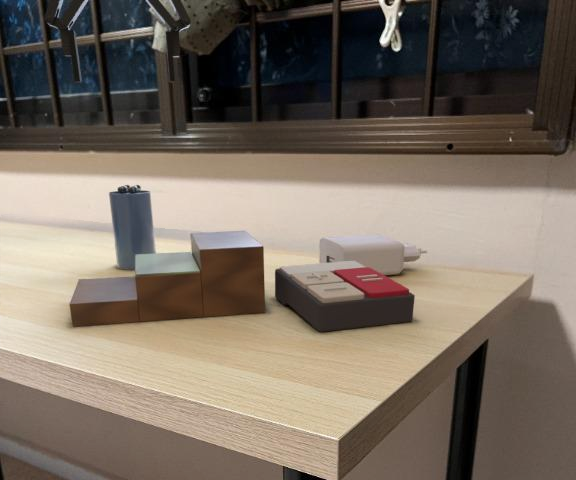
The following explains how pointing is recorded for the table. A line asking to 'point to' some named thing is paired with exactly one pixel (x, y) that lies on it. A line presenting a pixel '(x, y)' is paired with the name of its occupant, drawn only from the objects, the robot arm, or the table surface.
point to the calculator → (343, 295)
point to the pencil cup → (132, 224)
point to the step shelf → (179, 284)
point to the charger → (369, 252)
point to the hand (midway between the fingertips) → (125, 82)
